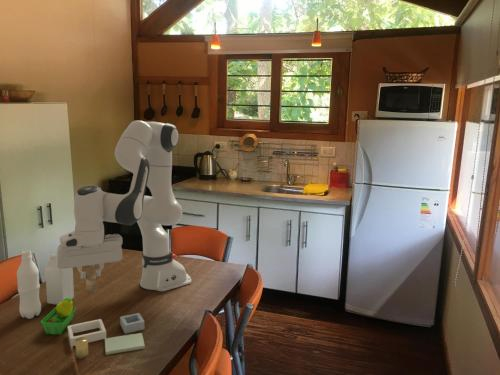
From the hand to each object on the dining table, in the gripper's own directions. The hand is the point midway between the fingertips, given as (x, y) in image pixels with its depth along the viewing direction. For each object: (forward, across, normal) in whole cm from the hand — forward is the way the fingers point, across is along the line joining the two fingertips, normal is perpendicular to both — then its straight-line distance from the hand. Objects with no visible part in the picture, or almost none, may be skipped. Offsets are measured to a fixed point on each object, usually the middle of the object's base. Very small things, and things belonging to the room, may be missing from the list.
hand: (90, 277), depth 139 cm
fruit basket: (+22, +8, -12) cm, 27 cm away
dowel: (+5, 0, 0) cm, 5 cm away
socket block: (+22, -13, 0) cm, 26 cm away
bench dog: (+22, +5, +10) cm, 25 cm away
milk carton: (+22, +6, -34) cm, 41 cm away
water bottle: (+22, +17, -26) cm, 38 cm away
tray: (+22, +2, -1) cm, 22 cm away
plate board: (+22, -8, +10) cm, 26 cm away
